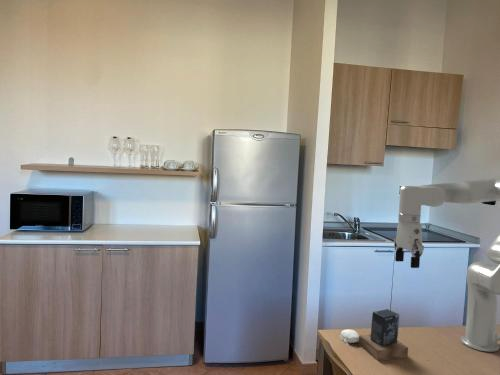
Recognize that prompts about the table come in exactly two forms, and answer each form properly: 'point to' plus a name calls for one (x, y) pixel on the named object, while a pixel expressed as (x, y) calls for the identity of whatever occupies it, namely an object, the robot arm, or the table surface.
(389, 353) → the walnut block
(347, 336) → the garlic
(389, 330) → the box
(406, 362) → the table surface
